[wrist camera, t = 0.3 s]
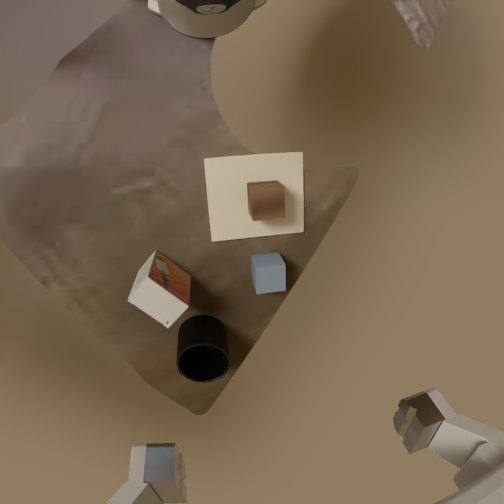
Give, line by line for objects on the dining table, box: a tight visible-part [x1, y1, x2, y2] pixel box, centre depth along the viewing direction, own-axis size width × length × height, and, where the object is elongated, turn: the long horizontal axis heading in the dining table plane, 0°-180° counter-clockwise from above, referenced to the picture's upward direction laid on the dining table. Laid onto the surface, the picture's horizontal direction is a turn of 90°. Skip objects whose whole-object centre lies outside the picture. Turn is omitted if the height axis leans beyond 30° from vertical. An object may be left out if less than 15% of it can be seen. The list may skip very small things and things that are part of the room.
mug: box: [177, 315, 230, 382], centre depth 58 cm, size 9×12×9 cm
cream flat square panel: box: [204, 152, 304, 242], centre depth 53 cm, size 14×16×1 cm
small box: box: [128, 250, 191, 328], centre depth 51 cm, size 8×6×10 cm
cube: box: [251, 253, 286, 294], centre depth 56 cm, size 5×5×5 cm
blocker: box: [247, 180, 285, 221], centre depth 51 cm, size 5×5×5 cm
